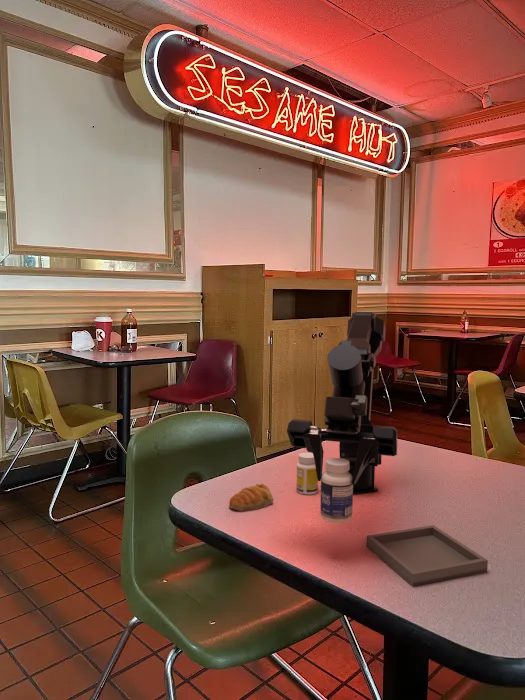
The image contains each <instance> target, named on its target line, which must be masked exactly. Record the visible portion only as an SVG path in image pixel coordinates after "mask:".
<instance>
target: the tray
mask: <svg viewBox="0 0 525 700" xmlns="http://www.w3.org/2000/svg"><path fill="white" fill-rule="evenodd" d="M365 537H366V539H365V540H366V541H365V542H366V543H365V547H366V548H367V549H369V551H371V552H372V553H373V554H374V555H375V554H376V555H375V556H377V558H379V559H380V560H381V561H382V562H383V563H384V564H385V565H387V566H388V567H389V568H390V569H392V570H393V572H394V573H396V574H397V575H399V577H401V578H402V579H403V580H405V582H406V583H408V584H409V585H410V586H411V587H413V588H414V587H417V586H423V585H428V584H433V583H438V582H442V581H443V582H444V581H448V580H453V579H458V578H465V577H470V576H475V575H479V574H485V573H488V564H489V563H488V559H487V558H485V557H484V556H482V555H481V554H479V553H477V552H476V551H474V550H473V549H471V548H469V547H468V546H466V544H463V543H462V542H460V541H459V540H457V539H456V538H454V537H453V536H451V535H449V534H448V533H446V532H445V531H444V530H442V529H440V528H439V527H437V526H436V525H434V524H432V525H426V526H421V527H420V526H419V527H414V528H413V527H412V528H407V529H406V528H405V529H401V530H393V531H387V532H381V533H374V534H373V533H372V534H367V535H366V536H365Z"/></svg>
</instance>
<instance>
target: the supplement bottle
mask: <svg viewBox="0 0 525 700" xmlns="http://www.w3.org/2000/svg"><path fill="white" fill-rule="evenodd" d="M318 491H319V481H318V479H317V473H316V467H315V460H314V456H313V453H311V452H300V453H299V454H298V462H297V464H296V492H297V493H299V494H300V495H314V494H316V493H318Z"/></svg>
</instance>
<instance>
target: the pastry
mask: <svg viewBox="0 0 525 700" xmlns="http://www.w3.org/2000/svg"><path fill="white" fill-rule="evenodd" d="M228 503H229V505H228V507H229V508H230V509H233V510H236V511H239V512H246V511H253V510H257V509H262V508H265V507H268V506H270V505H272V503H274V497H273V494H272V492H271V489H270V488H269V487H268V485H266V484H264V483H261V484H259V483H256V484H255V485H252V486H247V487H243V488H242V489H241V490H240V491H239V492H236V493H235V494H234V495H233V496H232V497H231V498H230V499H229V502H228Z"/></svg>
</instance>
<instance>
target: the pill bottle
mask: <svg viewBox="0 0 525 700" xmlns="http://www.w3.org/2000/svg"><path fill="white" fill-rule="evenodd" d="M349 469H350V462H349V461H348V460H346V459H343V458H340V457H330V458H327V459H326V460H325V470H326V471H324V472H322V476H321V481H320V513H319V514H320V517H321V518H322V519H323V520H325V521H327V522H329V523H330V522H331V523H345V522H348V521H350V520H351V519H352V517H353V505H354V503H353V500H354V498H353V497H354V494H353V485H352V475H351V474H350V473H349V472H348V471H349Z"/></svg>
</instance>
